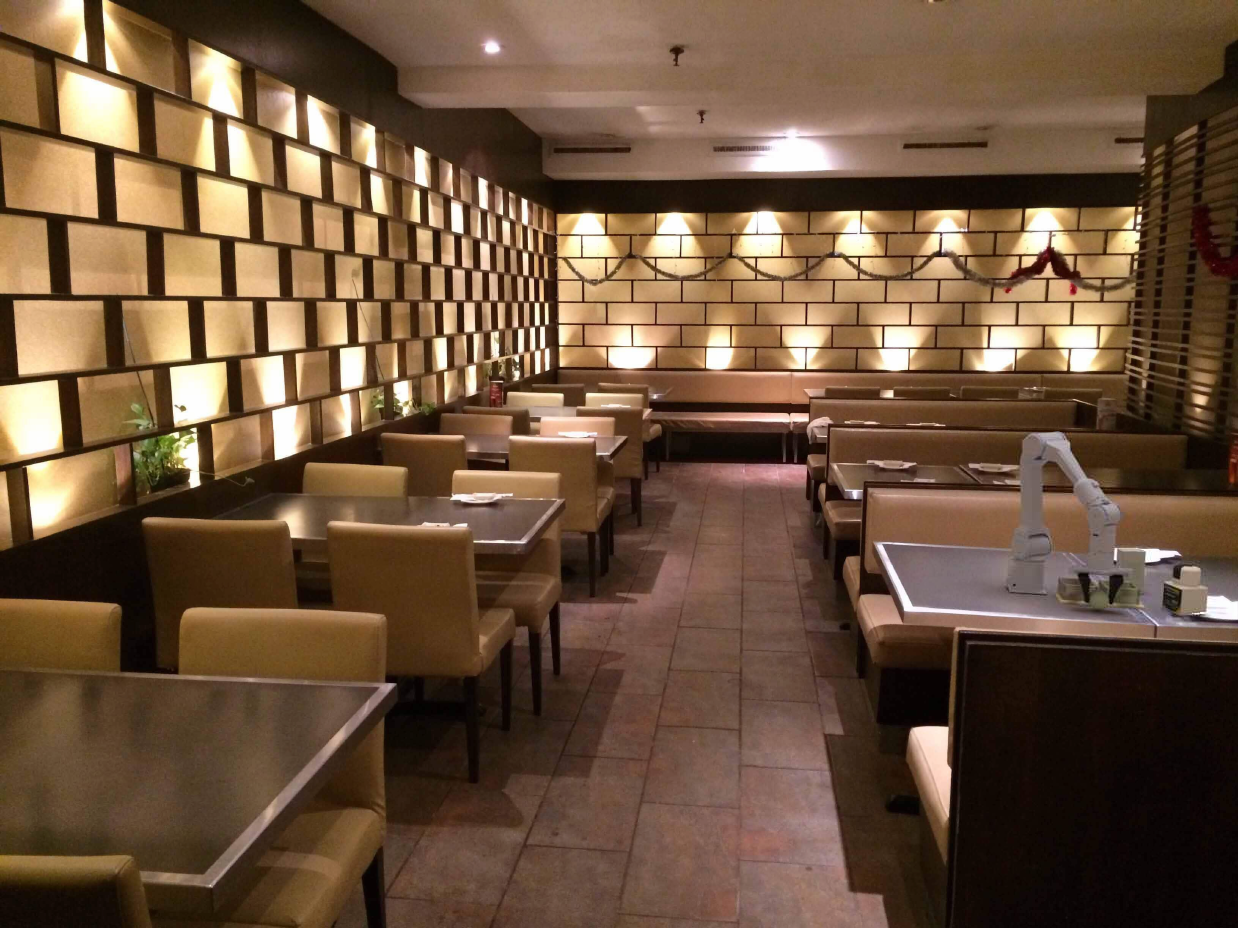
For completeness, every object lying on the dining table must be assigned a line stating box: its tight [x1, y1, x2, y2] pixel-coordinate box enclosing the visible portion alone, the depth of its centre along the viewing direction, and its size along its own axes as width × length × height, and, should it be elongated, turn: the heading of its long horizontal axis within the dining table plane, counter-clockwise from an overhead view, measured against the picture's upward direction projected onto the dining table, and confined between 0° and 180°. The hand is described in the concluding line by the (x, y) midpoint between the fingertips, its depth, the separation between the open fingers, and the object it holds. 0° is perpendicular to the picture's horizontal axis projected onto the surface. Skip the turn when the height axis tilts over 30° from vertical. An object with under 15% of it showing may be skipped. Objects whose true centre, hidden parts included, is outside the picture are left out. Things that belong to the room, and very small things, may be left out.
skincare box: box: [1115, 547, 1147, 595], centre depth 265 cm, size 6×4×12 cm
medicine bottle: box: [1161, 563, 1209, 617], centre depth 246 cm, size 7×7×12 cm
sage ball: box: [1089, 590, 1109, 610], centre depth 247 cm, size 5×5×5 cm
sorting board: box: [1053, 576, 1146, 610], centre depth 256 cm, size 20×11×5 cm, turn 75°
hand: (1098, 602), depth 247 cm, fingers closed on sage ball, 5 cm apart
